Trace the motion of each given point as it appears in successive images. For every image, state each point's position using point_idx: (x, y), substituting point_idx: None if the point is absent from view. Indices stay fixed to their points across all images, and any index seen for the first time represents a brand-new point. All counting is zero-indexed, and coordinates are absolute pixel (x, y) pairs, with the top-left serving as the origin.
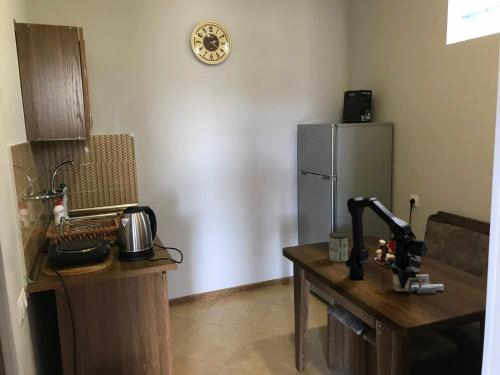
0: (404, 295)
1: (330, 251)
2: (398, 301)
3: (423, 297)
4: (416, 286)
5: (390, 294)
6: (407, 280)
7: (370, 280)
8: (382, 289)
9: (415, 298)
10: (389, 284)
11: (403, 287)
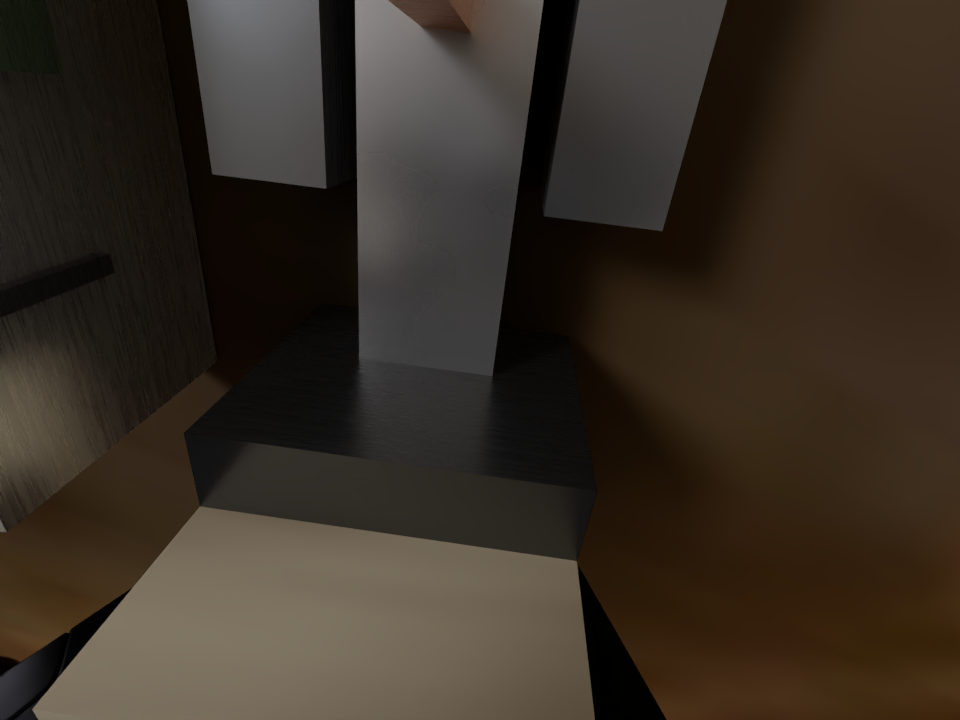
0: (614, 476)
1: None
2: (774, 632)
3: (871, 177)
4: (488, 174)
5: None
6: (579, 689)
7: (17, 612)
8: None
9: (817, 372)
10: (129, 473)
11: None
